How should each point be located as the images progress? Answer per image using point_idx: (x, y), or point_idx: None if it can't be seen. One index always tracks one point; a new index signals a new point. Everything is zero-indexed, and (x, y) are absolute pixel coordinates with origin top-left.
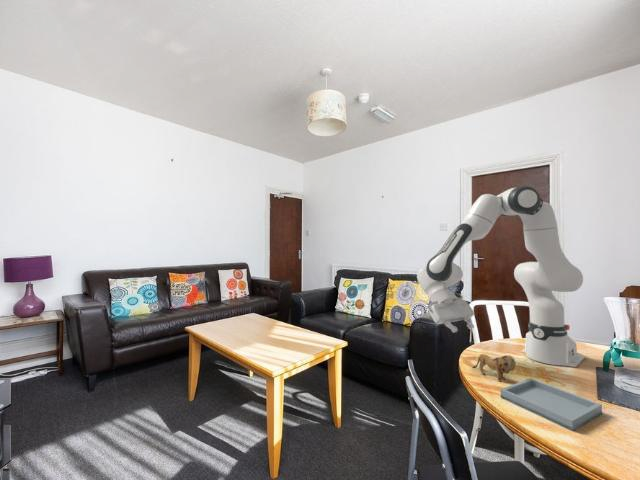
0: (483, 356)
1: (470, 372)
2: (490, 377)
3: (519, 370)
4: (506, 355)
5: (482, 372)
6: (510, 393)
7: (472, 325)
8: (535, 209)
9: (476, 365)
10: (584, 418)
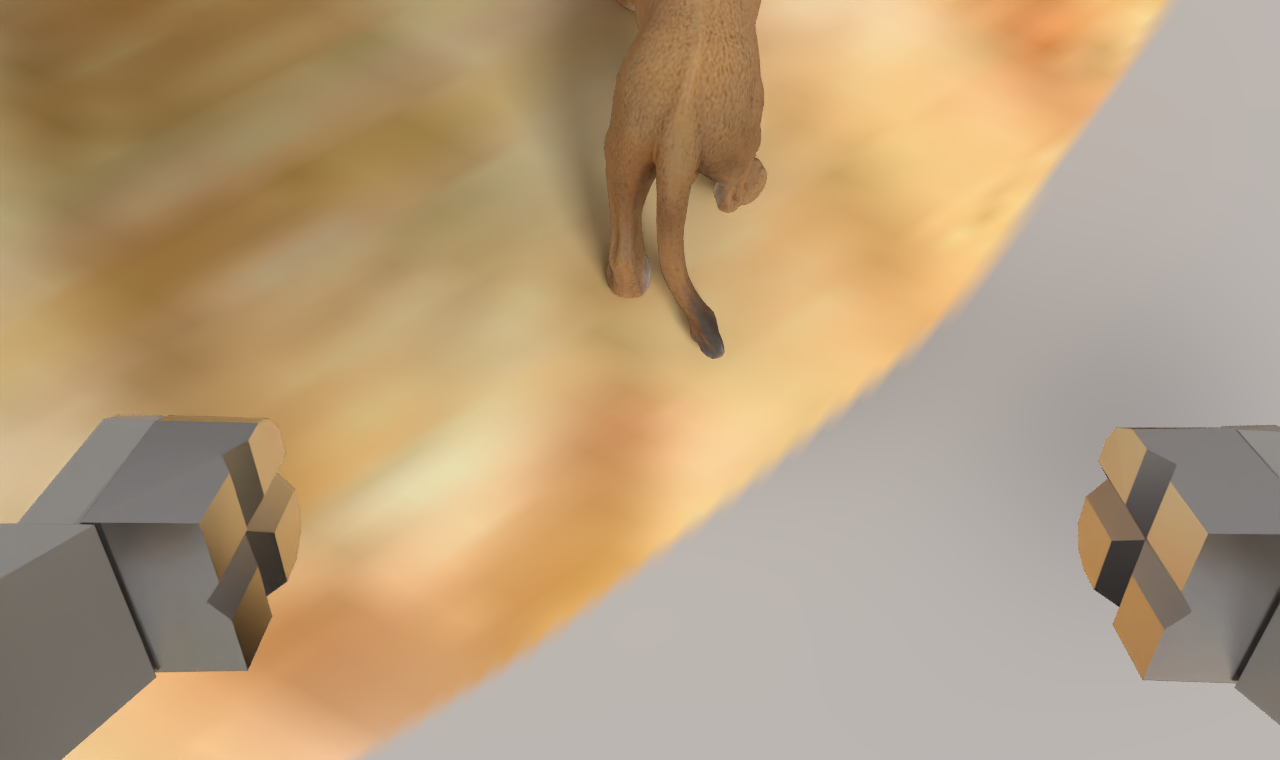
0: (750, 47)
1: (841, 300)
2: None
3: (182, 32)
4: None
5: (750, 173)
6: None
7: (158, 440)
8: None
9: (693, 291)
10: None
